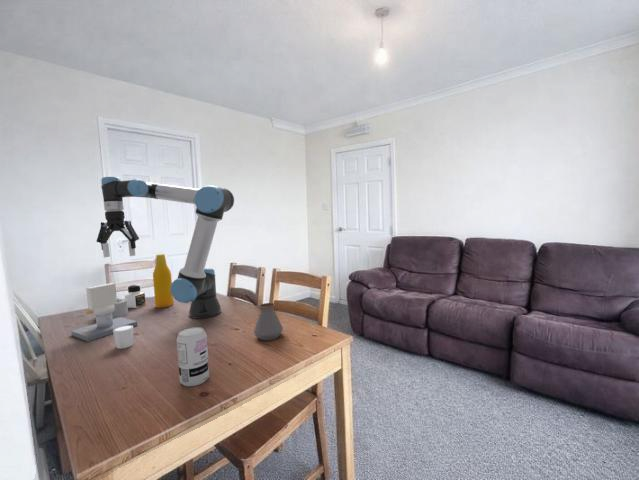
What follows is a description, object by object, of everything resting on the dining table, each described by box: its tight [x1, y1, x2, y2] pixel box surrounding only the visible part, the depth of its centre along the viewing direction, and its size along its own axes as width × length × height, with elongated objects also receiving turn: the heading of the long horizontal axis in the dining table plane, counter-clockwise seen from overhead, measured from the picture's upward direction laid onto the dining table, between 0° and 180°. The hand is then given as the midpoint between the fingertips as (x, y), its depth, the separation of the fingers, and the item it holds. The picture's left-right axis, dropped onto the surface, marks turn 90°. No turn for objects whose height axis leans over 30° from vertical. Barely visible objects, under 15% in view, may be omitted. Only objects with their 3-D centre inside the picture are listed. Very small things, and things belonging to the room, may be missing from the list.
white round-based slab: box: [85, 282, 118, 316], centre depth 139 cm, size 12×8×12 cm
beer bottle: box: [152, 253, 174, 309], centre depth 177 cm, size 9×9×29 cm
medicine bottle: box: [124, 284, 146, 309], centre depth 179 cm, size 7×7×12 cm
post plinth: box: [70, 312, 138, 342], centre depth 141 cm, size 15×20×8 cm
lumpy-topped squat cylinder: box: [112, 297, 129, 319], centre depth 162 cm, size 10×13×9 cm
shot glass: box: [113, 325, 134, 350], centre depth 122 cm, size 7×7×7 cm
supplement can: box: [175, 326, 210, 387], centre depth 93 cm, size 8×8×15 cm
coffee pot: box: [242, 294, 284, 341], centre depth 128 cm, size 21×12×15 cm, turn 46°
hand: (119, 256), depth 147 cm, fingers open, 13 cm apart
